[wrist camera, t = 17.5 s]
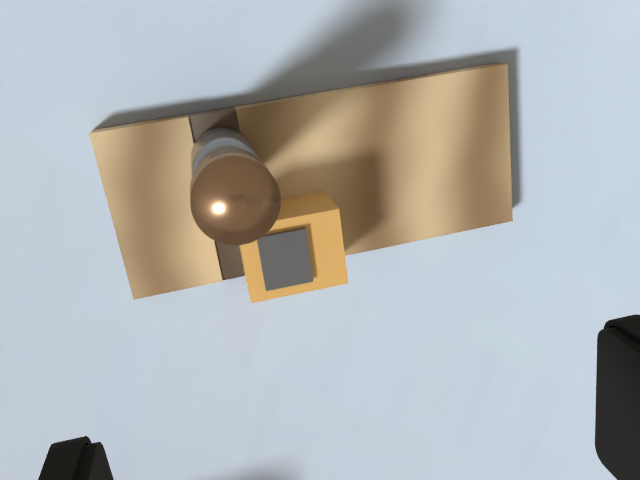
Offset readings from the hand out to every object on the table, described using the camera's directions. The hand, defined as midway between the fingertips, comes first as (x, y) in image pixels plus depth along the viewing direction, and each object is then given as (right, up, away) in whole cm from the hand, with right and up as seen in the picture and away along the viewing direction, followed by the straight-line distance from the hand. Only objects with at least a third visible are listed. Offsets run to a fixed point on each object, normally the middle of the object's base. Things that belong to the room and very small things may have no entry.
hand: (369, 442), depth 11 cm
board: (-1, +7, +23) cm, 24 cm away
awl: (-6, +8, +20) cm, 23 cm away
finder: (-3, +4, +22) cm, 23 cm away
